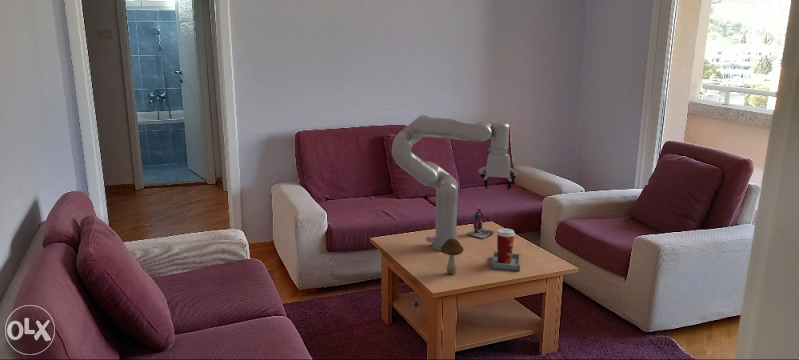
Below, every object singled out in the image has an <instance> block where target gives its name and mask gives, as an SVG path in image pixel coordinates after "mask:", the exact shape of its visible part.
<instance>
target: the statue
mask: <svg viewBox="0 0 799 360" xmlns="http://www.w3.org/2000/svg"><path fill="white" fill-rule="evenodd" d="M481 210H482V209H481V207H480V206H479V207H477V211H475V212H474V214H473V215H474V217H473V218H474V220H473V229H472V230H470V231H469V232H466V234H467V236H468V237H470V236H472V237H475V238H480V239H482V240H485V239H487V238H488V237H490V236H493V234H494V233H495V231H494V230H490V229H487V228H484V227H483V221H482V220H483V219H484V217H485V216H484V212H483V211H481Z"/></svg>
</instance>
